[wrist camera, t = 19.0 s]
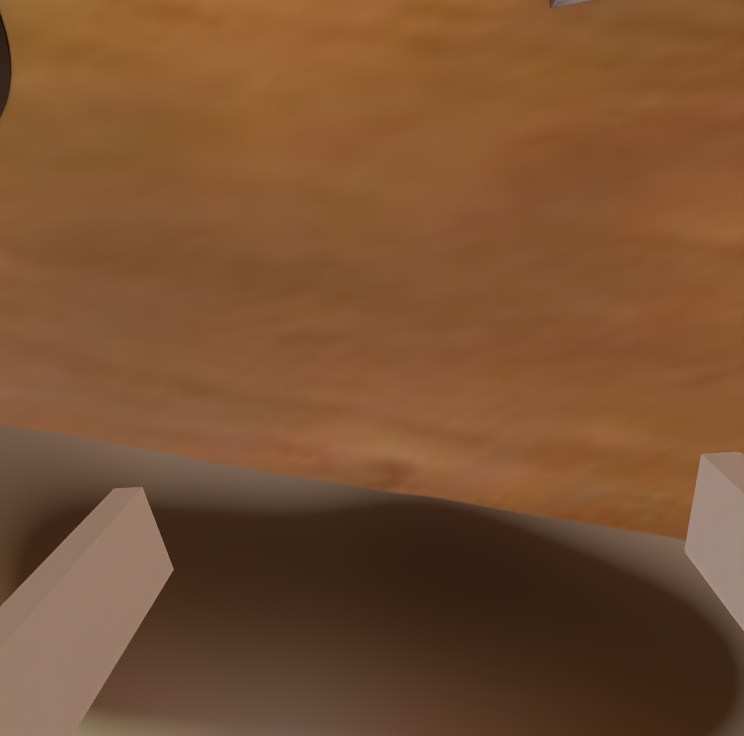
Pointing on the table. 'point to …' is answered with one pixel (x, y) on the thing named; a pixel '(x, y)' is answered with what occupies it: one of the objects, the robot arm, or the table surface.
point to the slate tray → (564, 2)
